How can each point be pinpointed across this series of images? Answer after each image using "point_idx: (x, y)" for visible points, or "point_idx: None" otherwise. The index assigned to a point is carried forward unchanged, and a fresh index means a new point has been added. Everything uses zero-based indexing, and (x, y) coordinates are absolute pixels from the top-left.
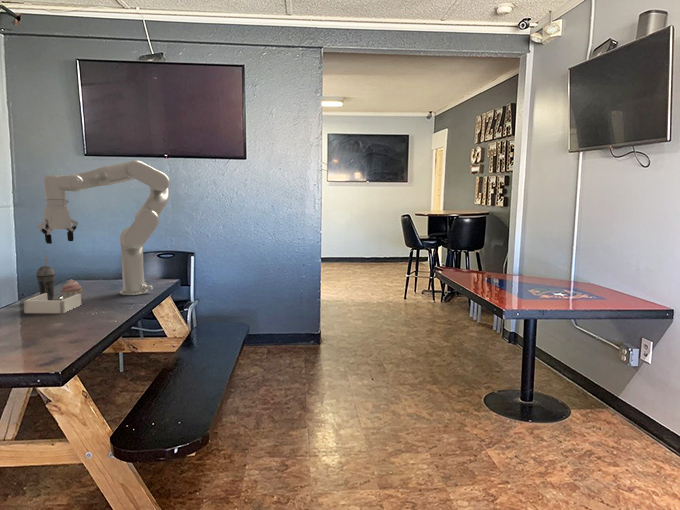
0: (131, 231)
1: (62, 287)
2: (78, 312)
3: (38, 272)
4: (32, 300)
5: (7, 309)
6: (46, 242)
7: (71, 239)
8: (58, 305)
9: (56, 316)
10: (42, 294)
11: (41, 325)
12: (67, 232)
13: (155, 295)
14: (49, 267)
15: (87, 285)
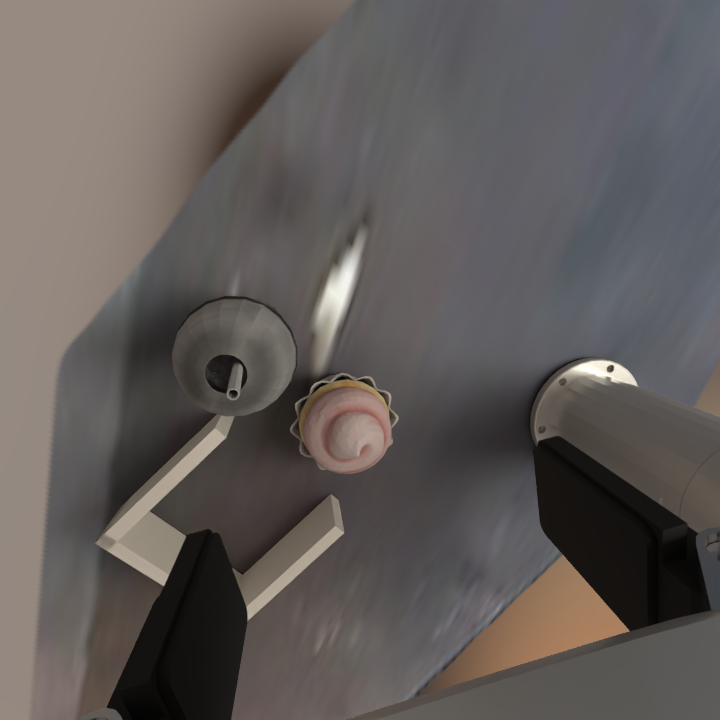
0: None
1: (305, 430)
2: (289, 599)
3: (178, 382)
4: (132, 556)
5: (64, 393)
6: (187, 545)
7: (555, 543)
8: None
9: None
10: (200, 450)
11: None
12: (657, 526)
13: None
14: (253, 397)
15: (551, 47)
